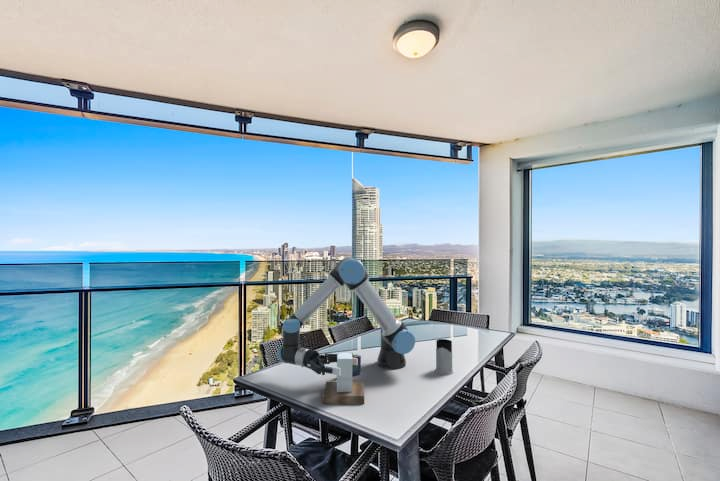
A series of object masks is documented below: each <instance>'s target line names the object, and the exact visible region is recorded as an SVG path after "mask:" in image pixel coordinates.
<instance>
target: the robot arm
mask: <svg viewBox="0 0 720 481" xmlns="http://www.w3.org/2000/svg"><path fill="white" fill-rule="evenodd" d="M327 276H328V277H327V278H326V279H325V280H324V281H323V282H322V283H321V284H320V285H319V286H318V287H317V288H316V289H315V290H314V291H313V292H312V293H311V295H310V296H309V297H307V299H306V300H305V301H304V302H303V303H302V304H301V305H299V307H298V308H297V309H296V310H295V311H294V312H293V314H292V315H291V316H289V317H287V318H286V319H285V320H284V321H283V325H282V345H280V346H279V347H278V349H277V353H276V357H277V360H278V361H279V362H283V363H284V364H289V365H294V366H300V367H301V368H307V369H309V370H312V371H313V372H314V373H316V374H317V375H321V376H326V374H328V375H332V376H333V375H334V376H336V377H337V376H340V375H341V368H337V366H332V365H330V364H331V363H337V354H338V353H327V352H325V353H324V354H320V353H319V351H318V350H316V349H310V348H304V347H300V334H301V332H300V330H301V328H302V327H303V326H304V324H306V323H307V321H308V320H309V319H310V318H311V317H313V315H314V314H315V313H316V312H317V311H318V310H319V308H321V306H323V304H324V303H326V301H327V300H328V299H329V298H330V297H331V296H332V295H333V294H335V292H336V291H337V290H338V289H339V288H342V287H343V286H344V285H345V286H346V287H347V289H348V290H349V292H354V293H355V294H356V296H357V297H358V299H359V300H360V301H361V302H362V303H363V305H364V307H365V308H366V309H367V310H368V312H369V313H370V315H371V316H372V317H373V319H374V320H375V322H376V323H377V324H378V326H379V327H380V349H379V350H380V351H379V354H378V356H377V360H376V362H377V366H379V367H381V368H384V369H388V370H389V369H390V370H397V369H402V368H404V367H406V365H407V362H406V361H407V360H406V357H405V355H407V354H409V353H411V352H412V351H413V349H414V347H415V345H416V337H415V335H414V333H413V332H412V331H411V330H409V329H408V327H407V326H406V325H405V324H404V322H403V321H402V319H397V318H396V317H395V315H394V314H393V313H392V311H391V309H390V308H389V307H388V305H387V303H386V302H385V301H384V300H383V298H382V297H381V296H380V294H379V293H378V292H377V290H376V289H375V287H374V286H373V285H372V283H371V282H370V275H369V273H367V271H366V268H365V266H364V265H363V263H362V261H360V260H358V259H356V258H352V257H349V258H348V257H347V258H343V259H341V260H340V261H338V263H336V265H335V266H334V267H333V269H332V270H331V271H330V272H329V273H328V275H327ZM353 365H358V358H353Z"/></svg>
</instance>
